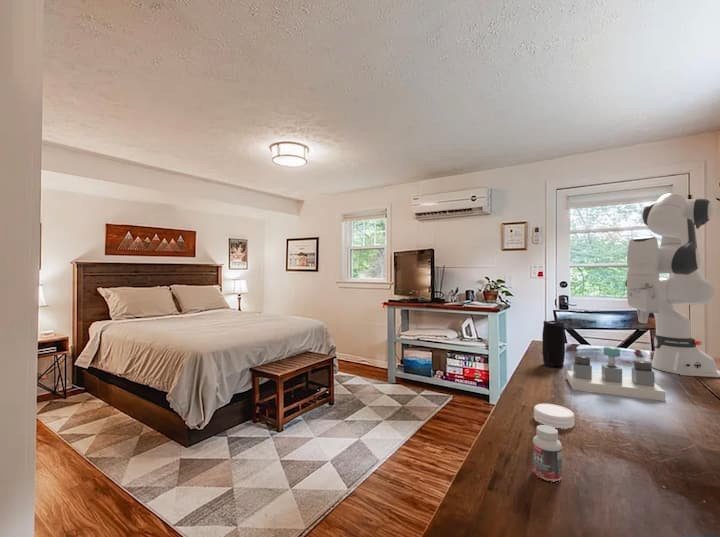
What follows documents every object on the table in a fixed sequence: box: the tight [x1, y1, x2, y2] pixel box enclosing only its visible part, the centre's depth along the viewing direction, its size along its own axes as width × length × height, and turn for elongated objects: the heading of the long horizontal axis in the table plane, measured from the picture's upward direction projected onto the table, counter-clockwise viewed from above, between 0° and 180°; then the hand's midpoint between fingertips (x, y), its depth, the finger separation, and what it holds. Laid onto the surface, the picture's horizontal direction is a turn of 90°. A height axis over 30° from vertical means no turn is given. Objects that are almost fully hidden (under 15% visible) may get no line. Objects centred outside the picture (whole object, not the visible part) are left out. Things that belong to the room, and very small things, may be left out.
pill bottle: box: [532, 424, 563, 481], centre depth 73 cm, size 5×5×10 cm
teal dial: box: [603, 346, 621, 367], centre depth 126 cm, size 5×5×7 cm
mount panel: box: [566, 360, 666, 402], centre depth 126 cm, size 26×14×8 cm, turn 67°
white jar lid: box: [533, 403, 575, 430], centre depth 99 cm, size 10×10×4 cm
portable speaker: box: [541, 320, 566, 368], centre depth 155 cm, size 9×9×20 cm
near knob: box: [633, 359, 653, 371], centre depth 122 cm, size 5×5×6 cm
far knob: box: [574, 354, 591, 365], centre depth 129 cm, size 5×5×6 cm
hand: (642, 322), depth 122 cm, fingers closed
